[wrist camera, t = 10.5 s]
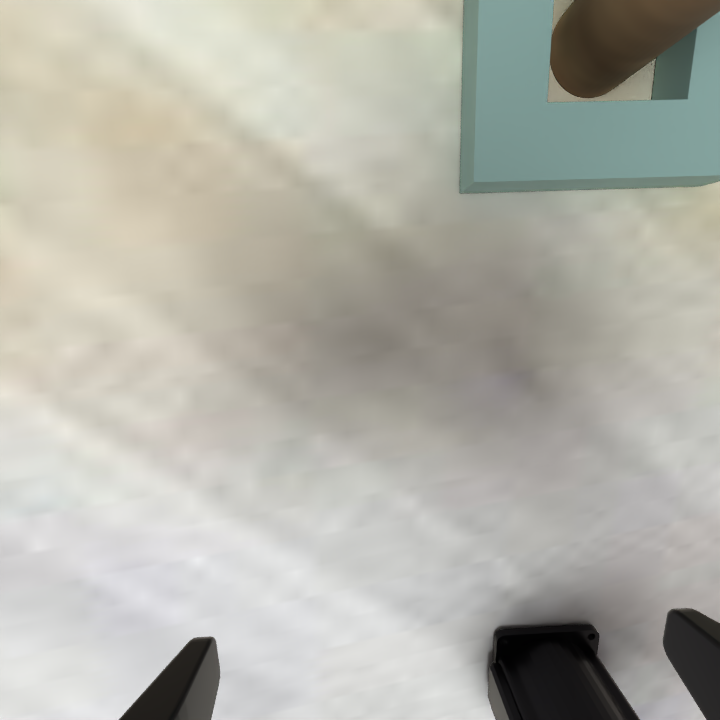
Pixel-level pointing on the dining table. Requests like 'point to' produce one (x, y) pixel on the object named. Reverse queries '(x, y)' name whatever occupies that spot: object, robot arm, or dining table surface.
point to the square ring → (580, 112)
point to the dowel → (618, 39)
